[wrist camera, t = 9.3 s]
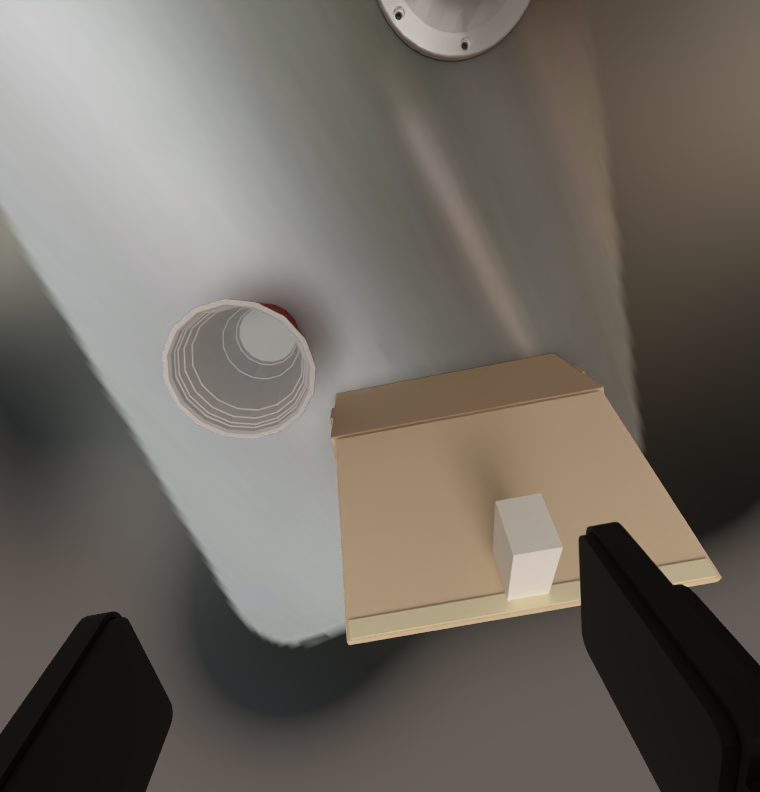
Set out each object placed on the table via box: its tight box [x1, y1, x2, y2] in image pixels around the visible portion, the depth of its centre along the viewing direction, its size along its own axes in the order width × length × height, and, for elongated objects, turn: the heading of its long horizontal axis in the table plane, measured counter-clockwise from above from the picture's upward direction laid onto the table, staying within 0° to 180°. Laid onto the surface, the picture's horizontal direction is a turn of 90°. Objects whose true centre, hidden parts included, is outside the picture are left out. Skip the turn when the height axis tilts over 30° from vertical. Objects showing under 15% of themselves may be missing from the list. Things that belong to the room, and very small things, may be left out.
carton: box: [330, 353, 604, 461], centre depth 44 cm, size 16×22×10 cm
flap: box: [335, 391, 722, 645], centre depth 29 cm, size 15×21×7 cm
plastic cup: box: [162, 299, 315, 439], centre depth 38 cm, size 11×11×12 cm
